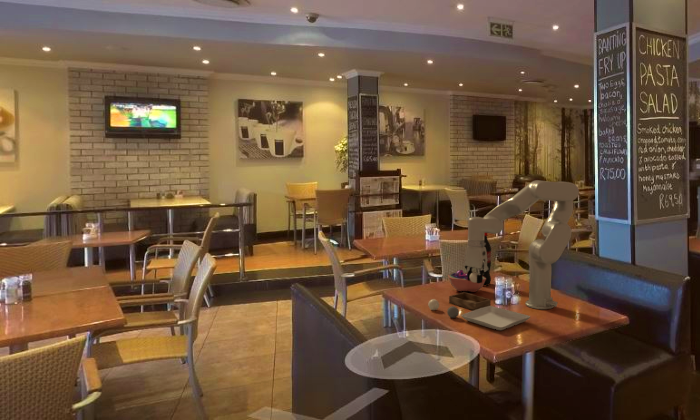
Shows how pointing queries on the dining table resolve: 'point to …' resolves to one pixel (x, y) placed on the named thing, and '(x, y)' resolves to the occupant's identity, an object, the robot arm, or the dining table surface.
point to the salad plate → (495, 317)
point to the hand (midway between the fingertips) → (474, 281)
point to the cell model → (464, 282)
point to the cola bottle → (488, 250)
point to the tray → (469, 301)
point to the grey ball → (452, 312)
